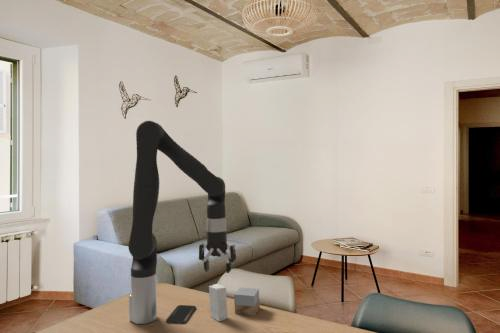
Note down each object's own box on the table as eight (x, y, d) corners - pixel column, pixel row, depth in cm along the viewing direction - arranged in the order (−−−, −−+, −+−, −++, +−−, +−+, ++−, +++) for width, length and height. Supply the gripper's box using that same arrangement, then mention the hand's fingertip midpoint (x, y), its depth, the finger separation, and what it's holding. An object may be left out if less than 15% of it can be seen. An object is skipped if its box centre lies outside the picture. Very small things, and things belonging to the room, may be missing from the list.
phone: (196, 305, 149) (185, 321, 135) (196, 308, 149) (185, 324, 135) (178, 305, 150) (164, 320, 136) (178, 307, 150) (164, 323, 136)
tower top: (234, 304, 142) (234, 294, 142) (240, 297, 150) (240, 287, 150) (254, 306, 140) (254, 296, 140) (259, 298, 148) (258, 288, 148)
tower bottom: (234, 314, 143) (234, 304, 143) (241, 306, 151) (240, 296, 150) (254, 316, 141) (254, 306, 141) (259, 308, 148) (259, 298, 148)
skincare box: (227, 318, 138) (227, 287, 138) (218, 322, 136) (217, 289, 135) (218, 313, 143) (218, 282, 143) (209, 316, 140) (208, 285, 140)
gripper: (195, 230, 137) (196, 273, 137) (231, 231, 133) (232, 276, 134) (203, 227, 144) (204, 267, 145) (237, 228, 140) (238, 270, 141)
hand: (217, 271), depth 139 cm, fingers open, 8 cm apart
